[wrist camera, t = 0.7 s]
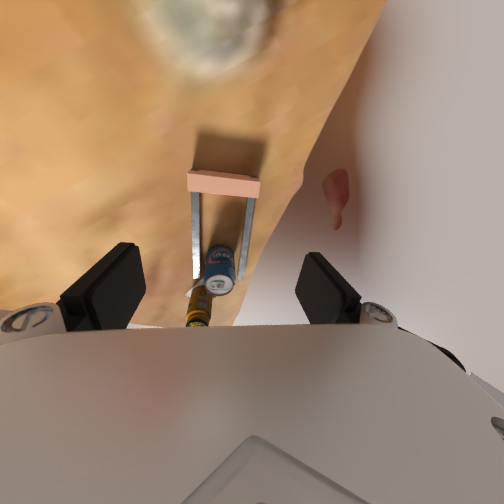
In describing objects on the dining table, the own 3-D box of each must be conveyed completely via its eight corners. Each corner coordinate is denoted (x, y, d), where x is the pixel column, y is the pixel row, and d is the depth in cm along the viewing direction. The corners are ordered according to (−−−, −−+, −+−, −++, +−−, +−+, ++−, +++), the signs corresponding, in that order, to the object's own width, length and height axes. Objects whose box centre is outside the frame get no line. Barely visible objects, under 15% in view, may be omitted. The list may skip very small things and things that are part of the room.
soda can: (234, 243, 47) (237, 272, 36) (233, 265, 50) (235, 297, 40) (206, 243, 45) (201, 272, 35) (207, 265, 49) (202, 298, 39)
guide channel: (192, 168, 37) (190, 170, 34) (255, 176, 39) (257, 178, 37) (195, 272, 50) (193, 278, 48) (242, 273, 52) (243, 279, 50)
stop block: (192, 168, 37) (186, 173, 31) (255, 176, 39) (260, 182, 34) (192, 184, 38) (187, 191, 33) (253, 190, 40) (258, 198, 35)
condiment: (185, 294, 53) (175, 331, 43) (203, 276, 51) (198, 311, 41) (205, 305, 57) (201, 341, 46) (223, 289, 54) (223, 323, 44)
